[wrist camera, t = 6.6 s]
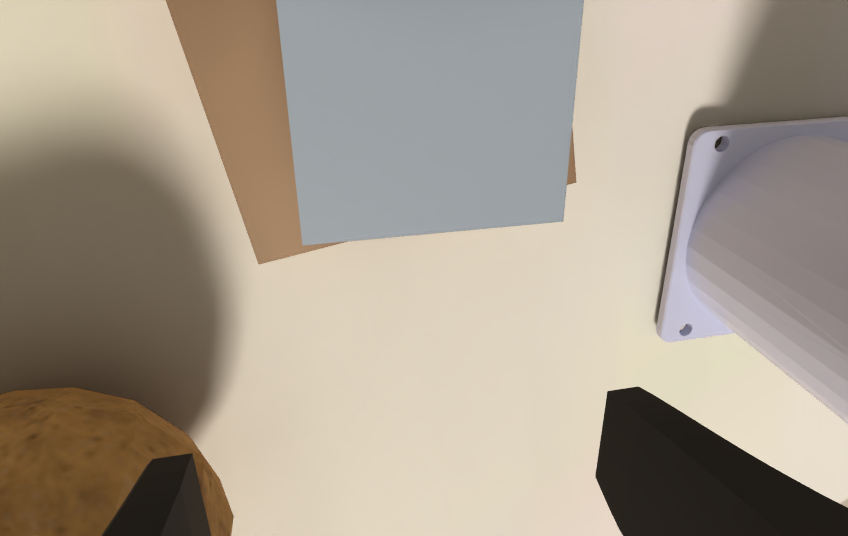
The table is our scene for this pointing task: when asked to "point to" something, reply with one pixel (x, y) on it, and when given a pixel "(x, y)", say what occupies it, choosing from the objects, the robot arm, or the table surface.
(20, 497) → the potato
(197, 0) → the walnut block
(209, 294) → the table surface
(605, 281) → the table surface
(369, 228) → the cube
